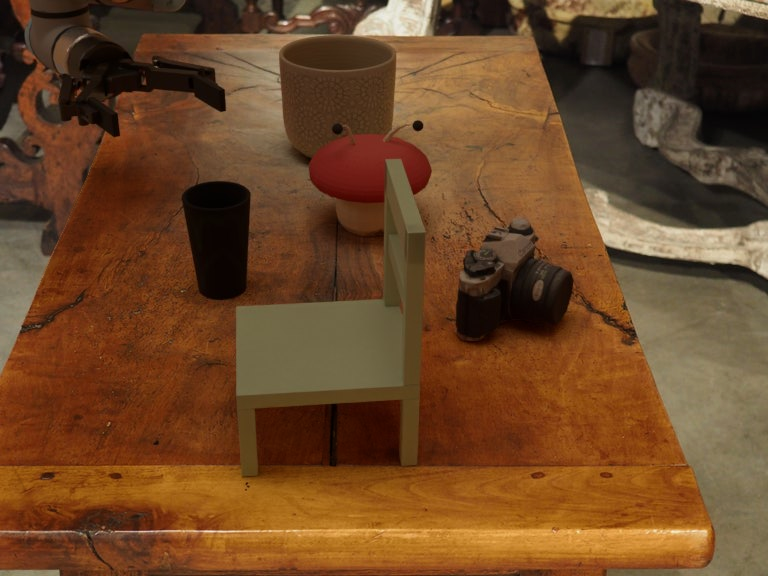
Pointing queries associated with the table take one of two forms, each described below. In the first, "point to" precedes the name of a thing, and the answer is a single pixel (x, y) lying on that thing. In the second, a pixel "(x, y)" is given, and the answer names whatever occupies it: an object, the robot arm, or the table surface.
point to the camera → (509, 283)
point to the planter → (336, 88)
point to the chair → (342, 339)
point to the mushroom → (365, 175)
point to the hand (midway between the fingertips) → (171, 112)
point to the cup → (218, 236)
